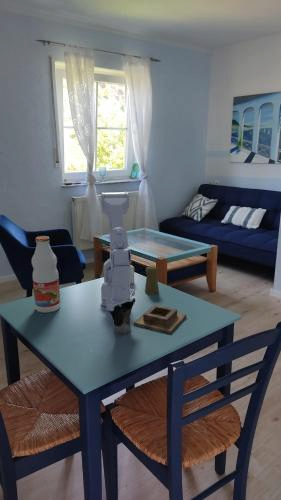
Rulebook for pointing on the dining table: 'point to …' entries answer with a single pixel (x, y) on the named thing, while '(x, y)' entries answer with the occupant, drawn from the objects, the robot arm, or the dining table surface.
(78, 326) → the dining table surface
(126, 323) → the metal pin
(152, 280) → the cork
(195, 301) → the dining table surface
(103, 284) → the robot arm
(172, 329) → the socket holder
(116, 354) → the dining table surface
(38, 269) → the fruit juice
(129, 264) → the eye dropper bottle
